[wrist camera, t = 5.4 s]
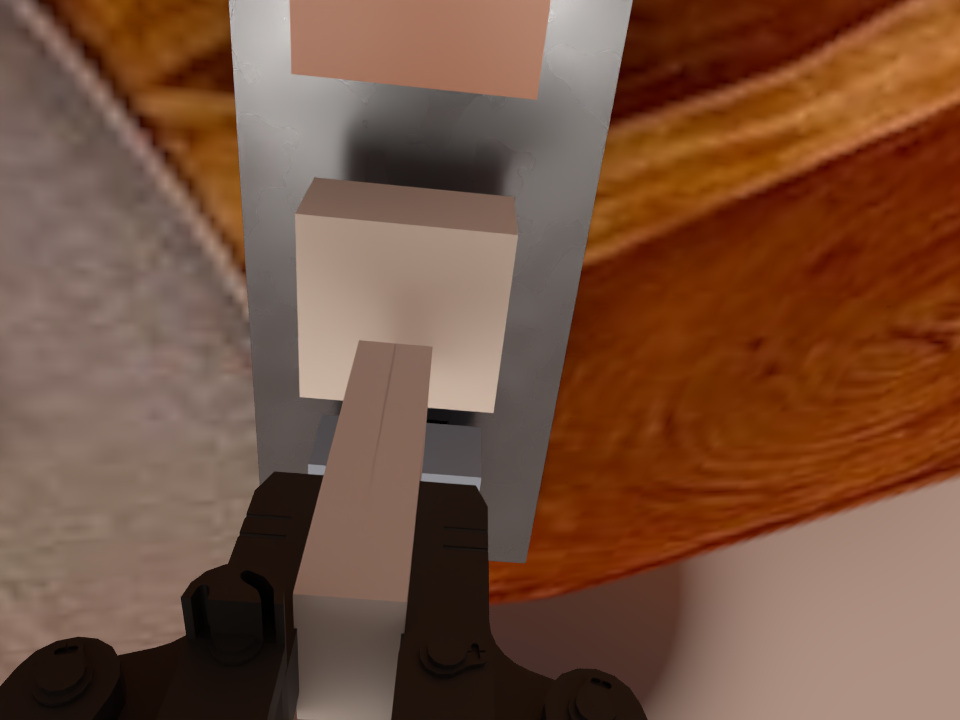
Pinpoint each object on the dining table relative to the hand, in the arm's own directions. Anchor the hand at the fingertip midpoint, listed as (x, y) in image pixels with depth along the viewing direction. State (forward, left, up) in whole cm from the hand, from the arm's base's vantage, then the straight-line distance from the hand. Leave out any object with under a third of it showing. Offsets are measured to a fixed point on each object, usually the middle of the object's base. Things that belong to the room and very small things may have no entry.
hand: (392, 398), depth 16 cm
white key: (0, 0, -8) cm, 8 cm away
